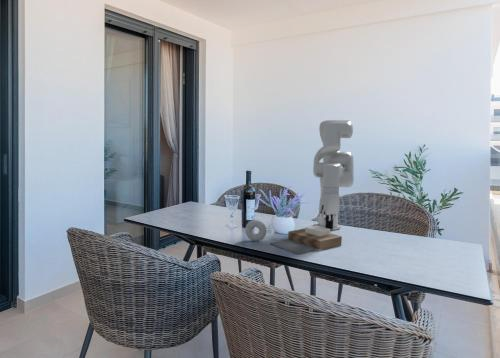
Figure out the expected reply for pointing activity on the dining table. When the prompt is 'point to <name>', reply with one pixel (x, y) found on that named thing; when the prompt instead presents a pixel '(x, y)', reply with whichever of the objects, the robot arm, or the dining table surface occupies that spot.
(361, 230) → the dining table surface
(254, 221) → the donut
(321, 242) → the stand
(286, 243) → the mat
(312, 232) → the tile
